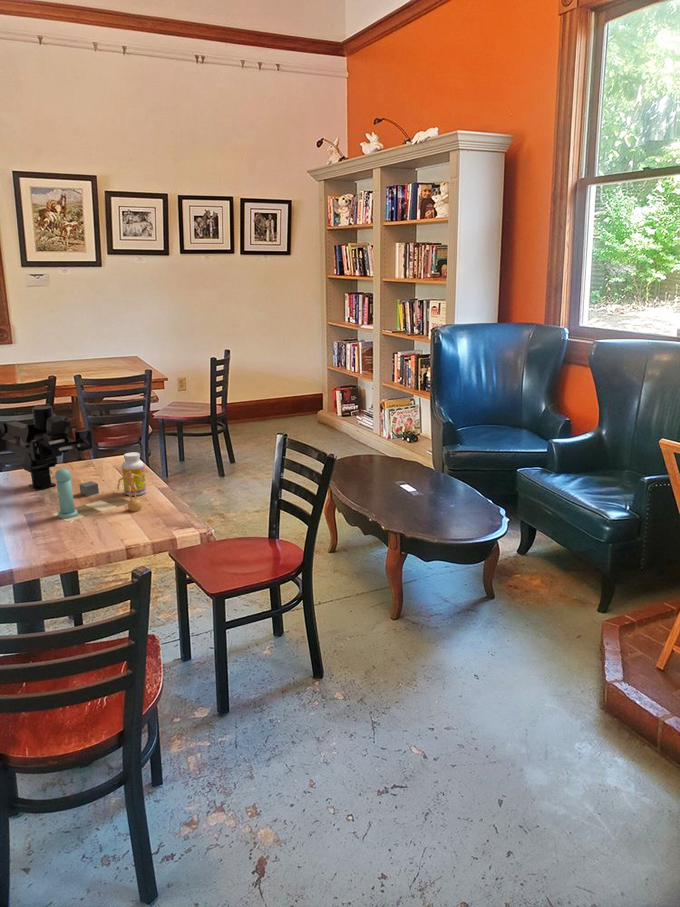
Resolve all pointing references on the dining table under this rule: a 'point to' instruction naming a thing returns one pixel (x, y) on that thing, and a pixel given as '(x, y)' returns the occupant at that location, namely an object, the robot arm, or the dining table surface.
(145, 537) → the dining table surface
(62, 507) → the pawn
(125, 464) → the supplement bottle
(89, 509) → the board
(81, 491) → the plain grey cube
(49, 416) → the robot arm
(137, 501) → the figurine
